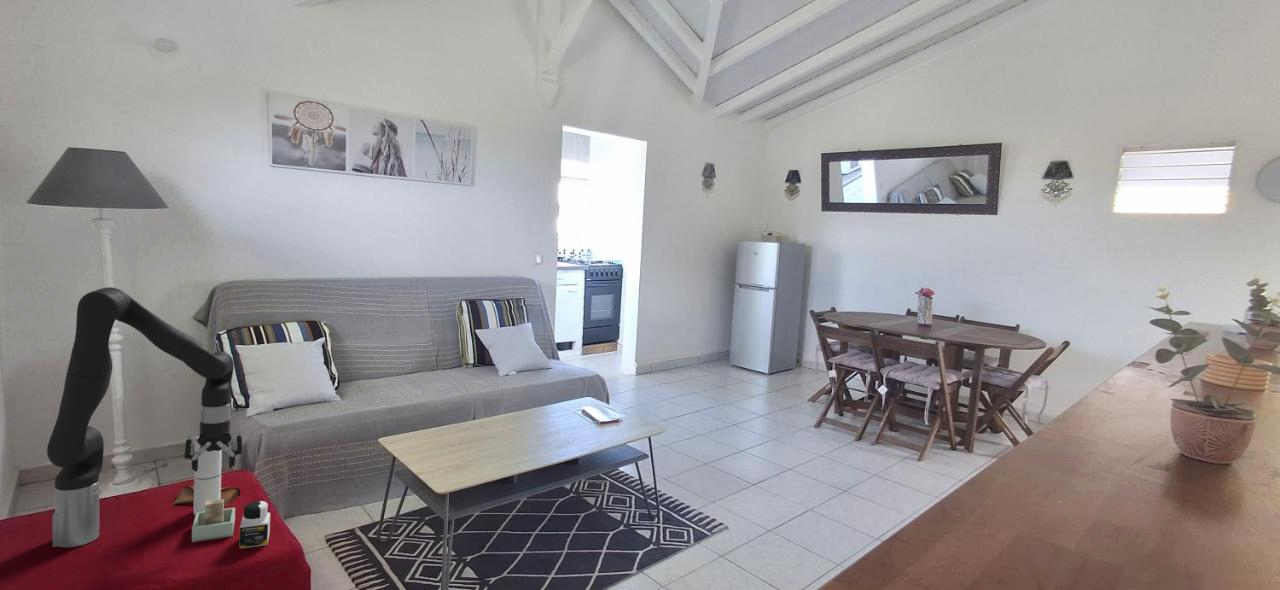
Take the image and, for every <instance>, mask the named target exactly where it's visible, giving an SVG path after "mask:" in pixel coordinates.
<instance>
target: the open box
mask: <svg viewBox="0 0 1280 590" xmlns="http://www.w3.org/2000/svg"><path fill="white" fill-rule="evenodd" d="M194 516H195V517H194V520H193V524H192V527H191V543H197V542H205V541H210V540H216V539H223V538H224V539H225V538H231V537H233V535H234V528H235V523H236V507H229V508H224V519H223V523H222V522H216V523H209V524H206V525H205V511H204V512H197V513H196V515H194Z"/></svg>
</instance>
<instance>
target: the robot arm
mask: <svg viewBox="0 0 1280 590" xmlns="http://www.w3.org/2000/svg"><path fill="white" fill-rule="evenodd" d="M115 321H118V322H120V323H124V324H126V325H128V326H130V327H131V328H133V329H135V330H136V331H138V332H139V333H141V334H142V335H143V336H144V337H145V338H146V339H147V340H149V342H150V343H151V344H152V345H154V346H155V347H156V348H157V349H159V350H161V351H162V352H164V353H166V354H168V355H169V356H171V357H173V358H175V359H177V360H179V361H181V362H183V363H184V364H185V365H186V366H187V367H188V368H189V369H191V370H192V371H194V373H196V374H198V375H199V376H201V377H203V378H205V384H204V386H203V387H202V390H201V402H200V403H201V404H200V411H199V433H198V434H199V436H197V437H198V438H197V437H192V436H188V437H187V438H186V440H185V447H184V448H185V449H184V455H183V456H184V457H183V458H184V459H185V460H188V459H189V460H191V470H192V471H193V472H194V471H198V458H199V456H200V455H201V454H202V453H203V452H204V451H205V450H206V451H208V452H209V451H220V450H223V452H225V453H226V454H227V455H229V457H228V459H229V460H228V469H232V468H233V467H234V466H235V464H236V456H238V455H241V454H243V434H242V433H240V432H239V433H238V434H234V435H233V434H232V435H231V416H232V413H231V411H232V410H231V384H232V380H233V379H232V378H233V374H234V366H235V365H234V364H235V363H234V359H233V357H232V356H231V355H230V354H229V353H227V352H226V351H216V352H213V353H211V352H210V351H208V350H207V349H205V348H204V346H203V343H202V342H201V341H199V340H198V339H196V338H195V337H192V336H190V335H189V334H187V333H185V332H184V331H181V330H180V329H178V328H176V327H175V326H173V325H171V324H169V323H168V322H167V321H165V320H164V319H162V318H160V317H159V316H157V315H156V314H154V313H153V312H151V311H150V310H149V309H147V308H146V307H144V306H143V305H141V303H140V302H138V301H137V300H136V299H134V298H133V297H132V296H130V294H128V293H127V292H125V291H123V290H122V289H119V288H116V287H111V286H110V287H103V288H99V289H96V290H92V291H90V292H87V293H86V294H84V295H83V296H82V297H81V298H80V300H79V301H78V303H77V308H76V324H75V335H74V342H73V345H72V350H71V354H70V359H69V363H68V367H67V370H66V374H65V375H66V376H65V381H64V385H63V391H62V392H63V393H62V397H61V400H60V405H59V409H58V414H57V418H56V421H55V424H54V427H53V428H52V429H53V430H52V433H51V434H50V437H49V441H48V444H47V449H46V454H47V459H49V462H50V463H52V465H54V466H55V467H58V468H62V469H61V470H60V471H59V472H58V474H57V475H56V476H55V477H54V510H55V511H54V512H53V514H52V519H51V520H52V548H57V547H58V548H75V547H80V546H84V545H86V544H89V543H91V542H93V541H95V540H97V539H98V538H99V537H100V474H101V471H102V470H103V466H104V465H103V464H104V450H105V448H104V447H105V444H104V439H103V435H102V433H101V432H100V431H99V430H98V429H97V428H96V427H95V428H94V427H93V426H89V424H90V421H91V418H92V417H93V415H94V413H95V411H96V410H97V409H98V407H99V405H100V404H101V402H102V400H103V399H104V397H105V395H106V394H107V391H108V390H109V389H108V388H109V386H110V382H111V378H112V372H113V361H112V360H113V359H112V355H111V351H110V346H109V345H110V344H109V343H110V337H111V333H112V331H113V330H112V329H113V327H114V324H115ZM231 440H232V441H233V442H234V443H236V449H234V448H233V447H232V445H230V441H231ZM195 442H198V444H199V445H200V447H199V449H198V450H197V451H196V452H195V453H192V447H194V446H195Z"/></svg>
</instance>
